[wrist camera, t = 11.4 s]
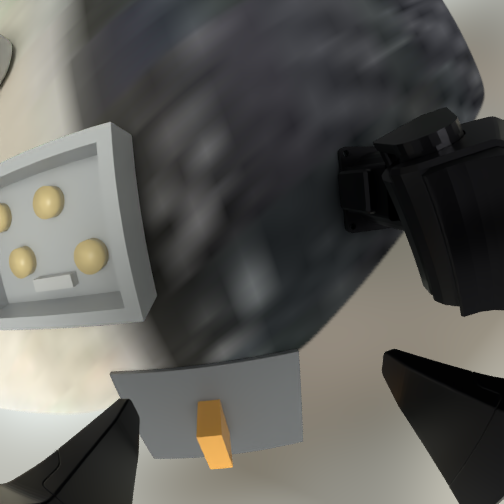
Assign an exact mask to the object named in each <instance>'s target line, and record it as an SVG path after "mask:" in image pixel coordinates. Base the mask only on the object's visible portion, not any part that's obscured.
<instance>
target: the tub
mask: <svg viewBox="0 0 504 504" xmlns="http://www.w3.org/2000/svg"><path fill="white" fill-rule="evenodd" d="M156 297H157V293H156V289H155V284H154V280H153V275H152V271H151V266H150V261H149V256H148V251H147V245H146V240H145V234H144V228H143V222H142V216H141V210H140V203H139V196H138V188H137V181H136V172H135V163H134V154H133V143H132V135H131V134H129V133H128V132H126V131H124V130H123V129H121V128H120V127H118V126H116V125H115V124H113V123H112V122H108V123H105V124H101V125H98V126H94V127H91V128H88V129H85V130H82V131H78V132H75V133H72V134H69V135H67V136H64V137H61V138H58V139H55V140H53V141H50V142H47V143H45V144H42V145H40V146H37V147H35V148H32V149H30V150H28V151H25V152H23V153H21V154H18V155H16V156H14V157H12V158H9V159H7V160H5V161H3V162H1V163H0V330H31V329H55V328H73V327H88V326H101V325H113V324H124V323H134V322H144V320H145V318H146V316H147V314H148V312H149V310H150V309H151V307H152V305H153V303H154V301H155V299H156Z"/></svg>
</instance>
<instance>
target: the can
mask: <svg viewBox="0 0 504 504" xmlns="http://www.w3.org/2000/svg"><path fill="white" fill-rule="evenodd" d="M11 55H12V44H11V42H10V40H8V39H7V38H5V37H3V36H2V35H0V84H1V83H2V81H3V79H4V77H5V76H6V73H7V71H8V69H9V65H10V61H11Z"/></svg>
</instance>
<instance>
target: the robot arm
mask: <svg viewBox="0 0 504 504" xmlns="http://www.w3.org/2000/svg"><path fill="white" fill-rule="evenodd" d="M373 144H374V146H375V147H343V148H340V149H339V151H338V158H339V166H340V173H339V174H338V179H339V189H340V200H341V207H342V208H343V209H344V220H345V229H346V230H347V231H348V232H351V233H356V232H363V231H370V230H377V229H384V228H395V229H399V230H403V231H405V233H406V236H407V239H408V241H409V244H410V247H411V249H412V252H413V255H414V258H415V261H416V264H417V267H418V270H419V273H420V276H421V279H422V283H423V286H424V287H425V288H426V289H427V290H428V292H429V293H430V294H431V295H433V298H434V300H435V301H437V302H439V303H442V304H445V305H451V306H460V312H461V316H464V317H465V316H468V315H471V314H475V313H478V312H482V311H489V310H504V120H502V119H499V118H497V117H493V116H492V117H486V118H483V119H478V120H474V121H471V122H467V123H463V124H460V122H459V120H458V118H457V116H456V115H455V114H454V113H452V112H451V111H450V110H449V109H448V108H442V109H439V110H436V111H433V112H430V113H427V114H424V115H421V116H419V117H417V118H416V119H414V120H412V121H410V122H408V123H406V124H405V125H403V126H401V127H399V128H397V129H396V130H394V131H392V132H390V133H388V134H387V135H385V136H383V137H381V138H380V139H378V140H376V141H374V142H373ZM344 151H346V152H347V156H346V157H345V156H344V154H343V152H344ZM351 223H353V225H354V226H353V228H352V229H351V228H350V225H351ZM382 373H383V376H384V378H385V380H386V382H387V384H388V386H389V388H390V390H391V392H392V394H393V396H394V398H395V400H396V402H397V404H398V406H399V407H400V409H401V411H402V412H403V414H404V415H405V417H406V418H407V420H408V421H409V423H410V424H411V426H412V428H413V429H414V431H415V432H416V434H417V435H418V437H419V439H420V440H421V442H422V443H423V445H424V446H425V448H426V449H427V451H428V452H429V454H430V456H431V457H432V459H433V461H434V462H435V464H436V466H437V467H438V469H439V470H440V472H441V473H442V475H443V477H444V478H445V480H446V482H447V484H448V485H450V486H449V487H450V489H451V490H452V492H453V494H454V496H455V497H456V499H457V501H458V502H459V504H499V503H500V502H501V501H502V500H503V499H504V378H499V377H493V376H489V375H484V374H480V373H476V372H471V371H469V370H465V369H462V368H458V367H454V366H451V365H447V364H444V363H440V362H437V361H433V360H430V359H427V358H423V357H420V356H417V355H413V354H410V353H407V352H404V351H400V350H397V349H392V350H389V351H386V352H385V353H384V356H383V365H382ZM139 428H140V417H139V414H138V412H137V410H136V408H135V406H134V404H133V402H132V401H131V400H130V399H128V398H127V399H118V400H117V401H116V402H115V403H113V404H112V405H111V406H110V407H109V408H108V409H106V410H105V411H104V412H103V413H102V414H100V415H99V416H98V417H97V418H96V419H94V420H93V421H92V422H91V423H90V424H88V425H87V426H86V427H85V428H84V429H82V430H81V431H80V432H79V433H77V434H76V435H75V436H74V437H72V438H71V439H70V440H69V441H68V442H66V443H65V444H64V445H63V446H61V447H60V448H59V449H58V450H56V451H55V452H54V453H53V454H52V455H50V456H49V457H47V458H46V459H45V460H44V461H42V462H41V463H39V464H38V465H36V466H35V467H33V468H32V469H30V470H29V471H27V472H25V473H24V474H22V475H20V476H19V477H17V478H15V479H14V480H12V481H10V482H8V483H4V484H0V504H132V500H133V490H134V483H135V476H136V468H137V462H138V453H139Z"/></svg>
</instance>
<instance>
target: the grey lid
mask: <svg viewBox="0 0 504 504" xmlns="http://www.w3.org/2000/svg"><path fill="white" fill-rule="evenodd" d="M110 376H111V379H112V381H113V383H114V385H115V388H116V390H117V392H118V394H119V396H120V398H121V399H127V398H128V399H130V400H131V401H132V402H133V404H134V406H135V408H136V410H137V412H138V414H139V417H140V428H139V434H140V436H141V438H142V439H143V441H144V443H145V445H146V446H147V448H148V450H149V451H150V453H151V454H152V456H153V458H156V459H157V458H158V459H159V458H160V459H162V458H163V459H165V458H196V457H205V458H206V460H207V463H208V465H209V467H210V469H221V468H231V467H233V463H232V454H237V453H245V452H252V451H258V450H264V449H270V448H275V447H280V446H285V445H289V444H294V443H298V442H302V441H303V427H302V402H301V383H300V364H299V351H298V349H293V350H288V351H284V352H278V353H273V354H268V355H263V356H257V357H251V358H245V359H239V360H233V361H226V362H219V363H212V364H204V365H196V366H187V367H177V368H166V369H154V370H140V371H121V372H111V373H110Z"/></svg>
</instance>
